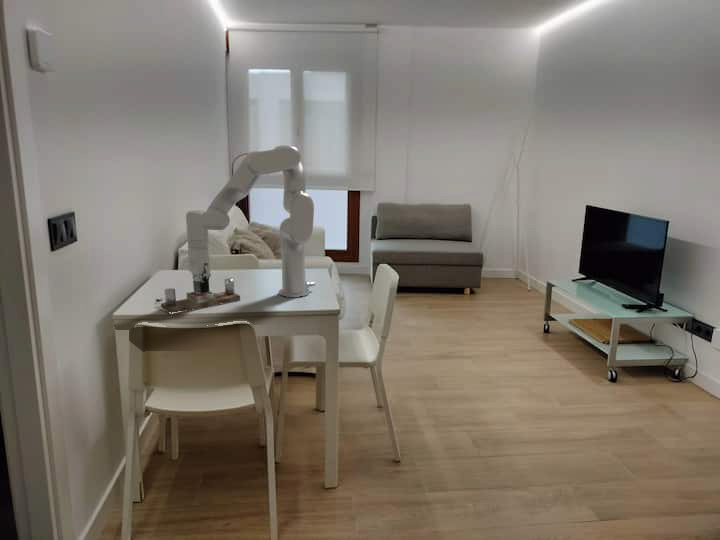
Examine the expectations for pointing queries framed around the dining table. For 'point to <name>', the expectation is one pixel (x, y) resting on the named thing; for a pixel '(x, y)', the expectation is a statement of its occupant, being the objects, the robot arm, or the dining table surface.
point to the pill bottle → (198, 286)
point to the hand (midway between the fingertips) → (201, 289)
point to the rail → (200, 301)
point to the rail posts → (171, 296)
